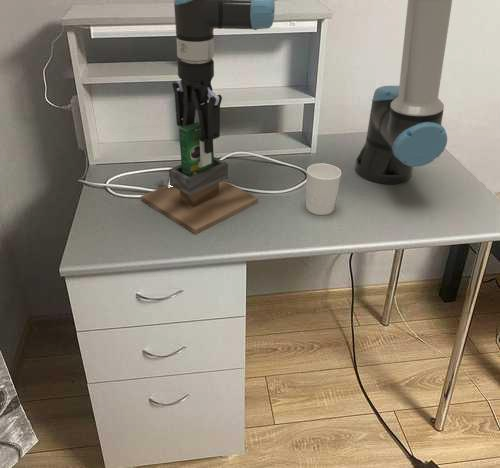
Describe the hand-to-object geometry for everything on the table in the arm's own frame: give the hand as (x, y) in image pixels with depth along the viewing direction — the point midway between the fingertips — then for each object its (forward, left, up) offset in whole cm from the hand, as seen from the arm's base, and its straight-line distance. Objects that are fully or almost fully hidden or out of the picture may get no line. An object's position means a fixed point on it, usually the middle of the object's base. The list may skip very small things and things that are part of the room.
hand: (198, 160), depth 121 cm
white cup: (-22, -19, -11) cm, 31 cm away
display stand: (0, 0, -11) cm, 11 cm away
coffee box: (0, 0, -5) cm, 5 cm away
